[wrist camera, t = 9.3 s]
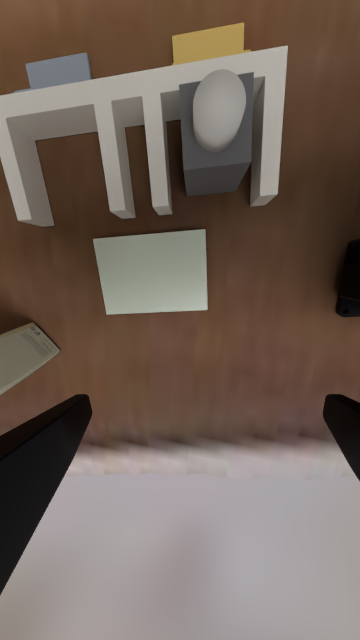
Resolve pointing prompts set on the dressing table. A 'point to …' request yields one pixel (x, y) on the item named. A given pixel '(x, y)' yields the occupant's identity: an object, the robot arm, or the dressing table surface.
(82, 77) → the socket board
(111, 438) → the dressing table surface
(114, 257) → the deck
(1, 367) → the skincare box
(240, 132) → the plug
